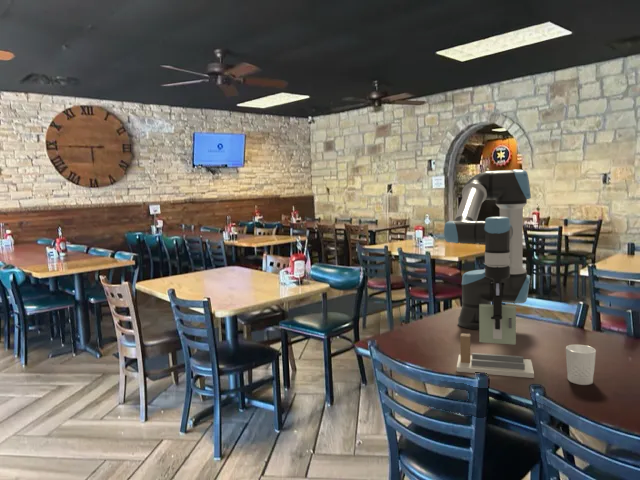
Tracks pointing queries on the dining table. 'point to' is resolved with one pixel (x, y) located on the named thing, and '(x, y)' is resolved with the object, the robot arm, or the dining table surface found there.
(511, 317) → the door panel
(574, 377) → the white cup
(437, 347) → the dining table surface
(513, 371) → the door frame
